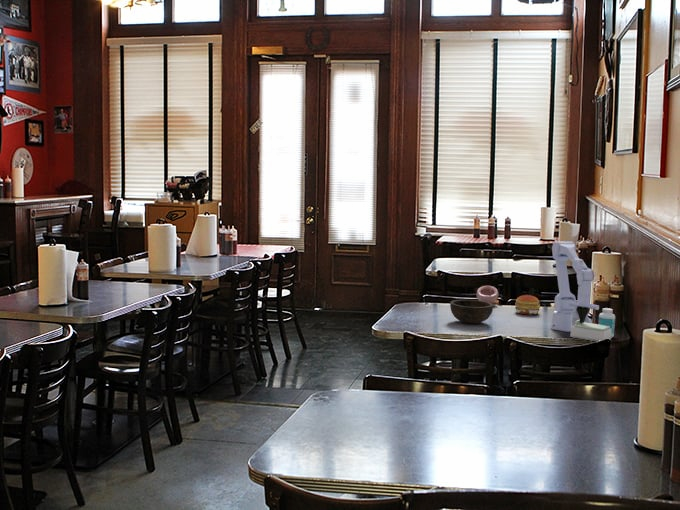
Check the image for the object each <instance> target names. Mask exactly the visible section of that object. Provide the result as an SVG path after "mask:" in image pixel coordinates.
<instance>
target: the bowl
mask: <svg viewBox="0 0 680 510" xmlns="http://www.w3.org/2000/svg"><path fill="white" fill-rule="evenodd" d="M449 305H450V312H451V314H452V315H453V317H455V319H457V320H458V321H460V322H461V323H465V324H469V325H472V324H473V325H474V324H481V323H483V322H485V321H486V320H488V319H489V318H490V316H491V315H492V313H493V309H494V303H493V304H492V303H489V302H485V301H479V300H478V299H477V300H476V299H456V300H455V299H454V300H451V301H450V303H449Z"/></svg>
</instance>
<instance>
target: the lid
mask: <svg viewBox="0 0 680 510" xmlns="http://www.w3.org/2000/svg"><path fill="white" fill-rule="evenodd" d="M574 326H575V327H582V328H588V329H595V330H601V331H604V330H606V329H608V328H610V326H606V325H599V323H598V324H597V323H593V322H591V323H590V322H586V321H584V323H580V319H577V320H575V321H574Z"/></svg>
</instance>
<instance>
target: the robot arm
mask: <svg viewBox="0 0 680 510" xmlns="http://www.w3.org/2000/svg"><path fill="white" fill-rule="evenodd" d="M551 250H552V251H551V252H552V259H554V260H555V270H556V277H557V286H558V291H559V293H557V295H555V297H554V306H553V307H554V309H555V310H554V311H553V313H552V317H551V327H550V329H551V330H556V331H560V332H561V331H562V332H567V333H568V332H570V333H571V326H573V317H574V316H573V315H574V314H575V312H577V314H578V318H579V319H580V323H584V322H586V318H587V315H588V313H589V312H590V310H597V311H599V309H600V305H599V304H598V305H597V304H593V303H591V292H592V291H591V290H592V289H591V288H592V282H593V281H594V279H595V273H594V270H593V269H591V268H589V267H588V266H587V265H586V263H585V262H584V259H582V258H579V256H578V254H577V252H576V244H575V242H574V241H554V242H553V243H552V246H551ZM568 260H570V261H571V263H572V264H571V267H572V268H573V270H574V272H575V273H576V281H577V285H578V287H577V288H578V289H577V300H576V296H575V294H573V293H572V292H571V290H570V282H569V275H568V266H567V261H568ZM579 319H578V320H579Z"/></svg>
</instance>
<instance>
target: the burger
mask: <svg viewBox="0 0 680 510" xmlns="http://www.w3.org/2000/svg"><path fill="white" fill-rule="evenodd" d="M514 304H515V307H514V309H515V311H516V313H518V314H521V315H522V314H523V315H537V314H538V313H539V311H540V308H541V304H540V300H539V299H538V298H537V297H536V296H533V295H531V294H524V295H520V296H518V297H517V298H516V299H515V303H514Z"/></svg>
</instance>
